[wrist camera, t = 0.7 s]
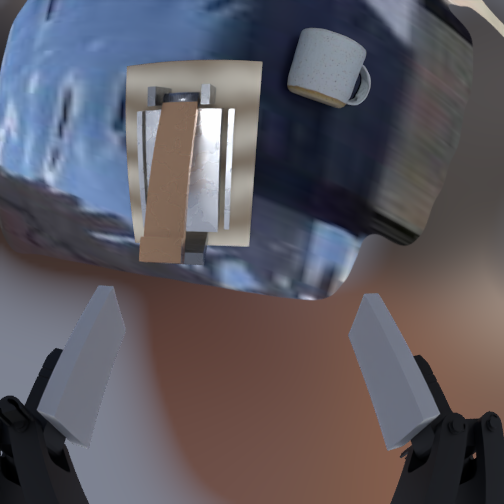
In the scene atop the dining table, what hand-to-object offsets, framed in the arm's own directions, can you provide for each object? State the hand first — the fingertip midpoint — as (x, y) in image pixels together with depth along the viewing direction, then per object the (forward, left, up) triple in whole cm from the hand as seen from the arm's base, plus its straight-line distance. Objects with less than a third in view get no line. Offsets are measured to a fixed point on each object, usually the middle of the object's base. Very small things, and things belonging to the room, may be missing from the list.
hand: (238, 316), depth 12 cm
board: (-2, -6, -26) cm, 27 cm away
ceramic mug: (-14, +10, -27) cm, 32 cm away
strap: (-2, -6, -16) cm, 17 cm away
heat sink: (-1, -6, -24) cm, 25 cm away
